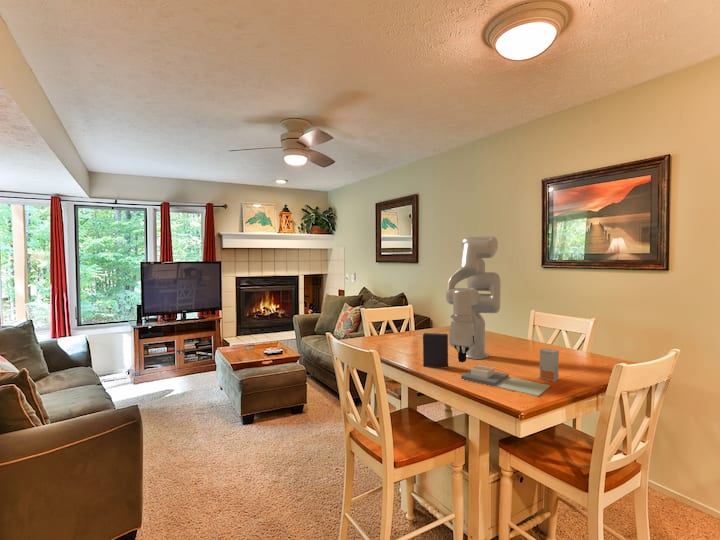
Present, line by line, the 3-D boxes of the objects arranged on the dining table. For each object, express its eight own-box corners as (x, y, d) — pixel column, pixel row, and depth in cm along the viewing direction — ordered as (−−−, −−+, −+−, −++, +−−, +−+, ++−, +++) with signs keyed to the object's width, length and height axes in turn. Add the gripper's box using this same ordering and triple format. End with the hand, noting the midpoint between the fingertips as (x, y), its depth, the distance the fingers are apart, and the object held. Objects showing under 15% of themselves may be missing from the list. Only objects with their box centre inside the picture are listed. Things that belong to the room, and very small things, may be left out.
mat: (494, 386, 148) (494, 385, 148) (508, 378, 159) (508, 377, 159) (538, 396, 138) (538, 395, 138) (550, 386, 148) (550, 385, 148)
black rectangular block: (448, 365, 178) (447, 333, 177) (447, 368, 174) (447, 335, 173) (424, 364, 181) (423, 332, 180) (423, 366, 177) (422, 334, 176)
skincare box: (539, 378, 157) (539, 349, 157) (543, 376, 160) (543, 347, 160) (555, 382, 153) (555, 352, 153) (558, 379, 156) (559, 350, 156)
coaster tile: (470, 374, 159) (470, 368, 158) (478, 370, 164) (478, 365, 164) (487, 378, 154) (487, 372, 154) (494, 374, 159) (494, 368, 159)
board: (461, 379, 158) (461, 375, 158) (476, 371, 168) (476, 368, 168) (494, 386, 148) (494, 382, 148) (508, 378, 159) (508, 374, 159)
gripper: (442, 318, 166) (442, 360, 166) (474, 321, 156) (474, 366, 156) (450, 316, 172) (450, 357, 172) (482, 319, 162) (482, 362, 162)
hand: (462, 361), depth 164 cm, fingers closed
